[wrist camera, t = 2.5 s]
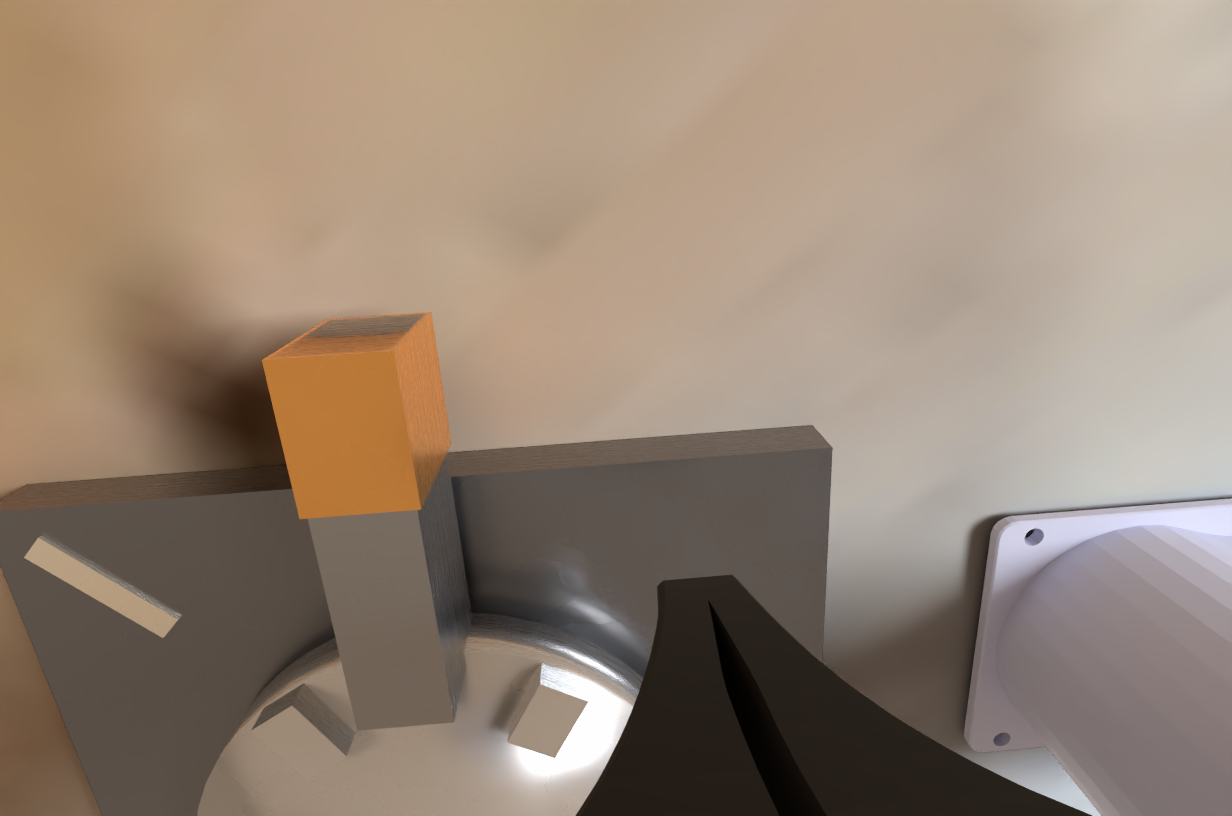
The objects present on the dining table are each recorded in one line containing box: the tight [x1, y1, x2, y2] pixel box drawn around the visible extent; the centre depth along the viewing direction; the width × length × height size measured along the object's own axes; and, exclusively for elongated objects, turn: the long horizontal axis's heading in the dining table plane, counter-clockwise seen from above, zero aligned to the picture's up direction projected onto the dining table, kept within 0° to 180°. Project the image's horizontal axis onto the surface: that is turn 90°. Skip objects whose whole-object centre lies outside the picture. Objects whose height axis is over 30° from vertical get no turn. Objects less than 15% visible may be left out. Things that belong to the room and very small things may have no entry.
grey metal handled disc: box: [197, 312, 643, 816], centre depth 17 cm, size 13×20×3 cm, turn 4°
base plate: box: [0, 425, 832, 816], centre depth 20 cm, size 20×20×2 cm
